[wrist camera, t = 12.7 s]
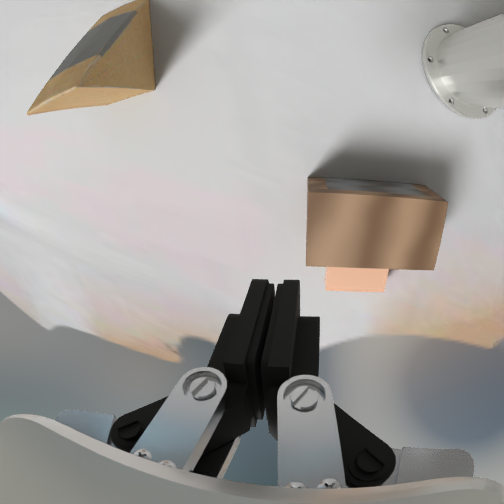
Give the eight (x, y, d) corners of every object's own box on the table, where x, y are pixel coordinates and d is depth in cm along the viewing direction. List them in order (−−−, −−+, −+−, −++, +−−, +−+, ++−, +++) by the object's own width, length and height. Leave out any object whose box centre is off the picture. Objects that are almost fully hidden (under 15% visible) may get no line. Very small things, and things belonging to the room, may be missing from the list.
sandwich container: (151, -6, 24) (81, -41, 11) (158, 89, 31) (78, 87, 18) (101, 16, 26) (27, -1, 13) (106, 105, 33) (25, 116, 20)
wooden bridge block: (424, 185, 30) (447, 202, 24) (415, 243, 34) (433, 270, 28) (307, 177, 33) (308, 192, 27) (306, 239, 37) (305, 265, 30)
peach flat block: (392, 197, 32) (399, 204, 30) (379, 280, 38) (383, 292, 35) (330, 193, 34) (333, 200, 31) (324, 278, 39) (325, 290, 37)
